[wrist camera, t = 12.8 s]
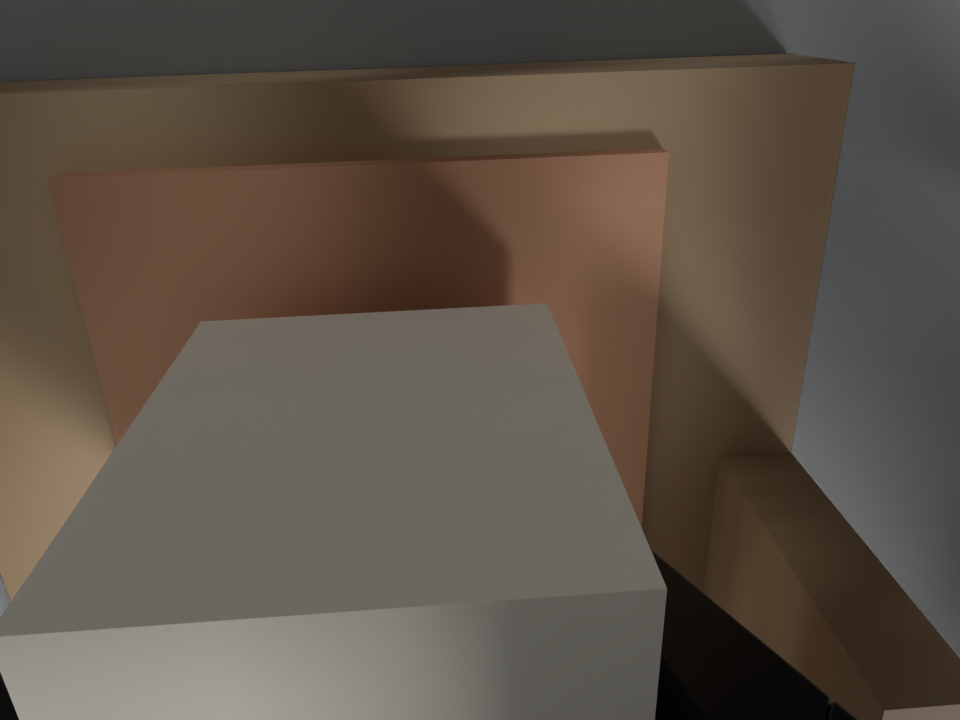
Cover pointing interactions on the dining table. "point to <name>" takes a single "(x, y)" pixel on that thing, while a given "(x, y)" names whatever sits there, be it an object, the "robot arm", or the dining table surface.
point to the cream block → (350, 537)
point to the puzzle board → (473, 290)
